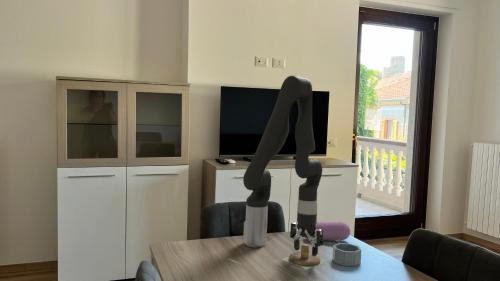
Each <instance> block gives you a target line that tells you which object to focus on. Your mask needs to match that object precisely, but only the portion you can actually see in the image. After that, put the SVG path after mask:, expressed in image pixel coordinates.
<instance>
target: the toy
mask: <svg viewBox="0 0 500 281" xmlns="http://www.w3.org/2000/svg"><path fill="white" fill-rule="evenodd" d="M316 229H318V230H321V229H322V230H323V241H335V243H342V241H344V240H347V239H348V238H349V237H350V234H351V229H350V226H349V224H347V223H345V222H342V221H326V222H324V221H322V222H321V221H319V222H318V221H317V223H316ZM315 235H316V233H315ZM316 237H317V235H316ZM312 238H313V236H312Z"/></svg>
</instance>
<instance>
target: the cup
mask: <svg viewBox="0 0 500 281" xmlns="http://www.w3.org/2000/svg"><path fill="white" fill-rule="evenodd" d="M332 261H333V263H334V264H337V265H340V266H343V267H356V266H360V265H361V261H362V248H361V247H360V246H359V245H356V244H352V243H348V242H347V243H346V242H345V243H343V242H337V243H336V244H333V246H332Z"/></svg>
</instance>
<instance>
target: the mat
mask: <svg viewBox="0 0 500 281" xmlns="http://www.w3.org/2000/svg"><path fill="white" fill-rule="evenodd" d="M280 261H284V262H286V263H289V264H291V265H294V266H297V267H299V268H302V269H304V270H310V269H313V268H315V267H318V266H320V265H323V264H326V263H328V262H329V260H326V259H323V258H320V264H318V265H315V266H300V265H296V264H293V263H291V262H290V261H289V256H287V257H284V258H281V259H280Z"/></svg>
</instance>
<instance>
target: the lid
mask: <svg viewBox="0 0 500 281" xmlns="http://www.w3.org/2000/svg"><path fill="white" fill-rule="evenodd" d="M288 257H289V261H290V262H291V263H293V264H292V265H294V264H296V265H300V266H315V265H318V264H320V259H321V257H320V256H318V254H317V255H316V256H312V252H311V253H310V244H307V243H302V244H301V245H300V252H294V253H291V254H289V256H288ZM291 263H290V264H291ZM296 265H295V266H296ZM318 266H319V265H318Z"/></svg>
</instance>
